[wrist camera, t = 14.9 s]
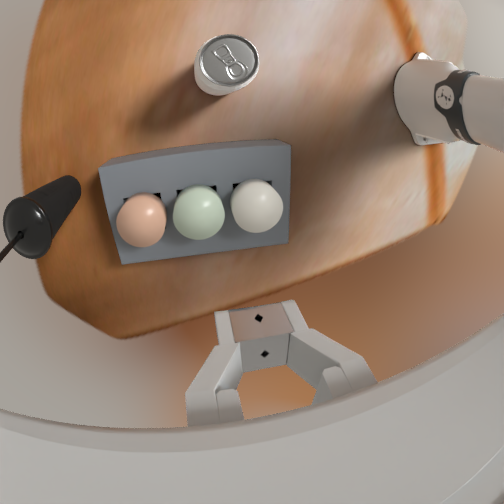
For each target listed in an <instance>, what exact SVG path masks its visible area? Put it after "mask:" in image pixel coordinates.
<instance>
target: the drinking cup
mask: <svg viewBox="0 0 504 504" xmlns="http://www.w3.org/2000/svg"><path fill="white" fill-rule="evenodd" d="M80 196H81V186H80V184H79V182H78V181H77V179H75V178H74V177H72V176H63V177H61V178H59V179H57V180H55V181H52V182H50V183H48V184H46V185H44V186H42V187H40V188H38V189H36V190H34V191H33V192H31V193H29V194H27V195H25V196H23V197H18V198H16V199H14V200H12V201H11V202H10V203H9V204H8V206H7V207H6V209H5V212H4V216H3V227H4V232H5V235H6V238H7V240H8V242H9V244H8V245H7V246H6V247H5V248H4V249H3V250H2V251H1V253H0V262H1V261H2V260H3V258H4V257H5V256H6V255H7V254H8V253H9V251H10V250H11V249H12V248H13V249H14V250H15V251H16V252H18V253H19V254H20V255H22V256H24V257H26V258H29V259H37V258H40V257H42V256H44V255H45V254H46V253H47V251H48V250H49V248H50V246H51V243H52V239H53V238H54V236H55V234H56V233H57V231H58V230H59V228H60V227H61V225H62V223H63V222H64V220H65V219H66V217H67V216H68V214H69V213H70V212H71V210H72V209H73V207H74V206H75V204H76V203H77V202H78V200H79V199H80Z"/></svg>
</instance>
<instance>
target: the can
mask: <svg viewBox="0 0 504 504" xmlns="http://www.w3.org/2000/svg"><path fill="white" fill-rule="evenodd" d="M258 69H259V56H258V52H257V50H256V48H255V47H254V45H253V44H252V43H251V42H250V41H249V40H247V39H246V38H244V37H241V36H238V35H233V34H226V35H220V36H216V37H214V38H212V39H210V40H208V41H207V42H205V43H204V44H203V45H202V46H201V48H200V49H199V50H198V52H197V54H196V57H195V64H194V75H195V80H196V83H197V85H198V86H199V88H200V89H201V90H203V91H204V92H206V93H208V94H211V95H217V96H219V95H226V94H229V93H232V92H234V91H237V90H239V89H241V88H243V87H245V86H246V85H248V84H249V83H250V82H251V81H252V80H253V79H254V77H255V76H256V74H257V72H258Z"/></svg>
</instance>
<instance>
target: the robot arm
mask: <svg viewBox="0 0 504 504" xmlns="http://www.w3.org/2000/svg"><path fill="white" fill-rule="evenodd" d="M394 98H395V104H396V107H397V110H398V113H399V115H400V117H401V119H402V121H403V122H404V123H405V125H406V126H407V127H408V128H409V130H410V131H411V134H412V136H413V139H414V142H415V143H416V144H417V145H428V144H436V143H447V144H449V143H450V142H455V141H460V140H463V141H465V142H467V143H471V144H475V145H481V144H482V145H485V146H488V147H490V148H493V149H495V150H497V151H500V152H502V153H504V78H496V77H488V76H481V75H480V74H478V73H476V72H471V71H469V70H459V69H458V68H457V67H456V66H455V65H453V64H452V63H451V62H449V61H442V60H433V59H432V58H430V57H429V56H428V55H426V54H425V53H423V52H418V53H416V55H415V56H414V58H413V60H412V61H410V62H408V63H406V64H404V65H403V66H402V67H401V68H400V70H399V71H398V73H397V76H396V79H395V84H394ZM423 138H424V139H423ZM214 316H215V323H216V329H217V336H218V342H219V345H218V346H215V347H214V348H213V350H212V351H211V353H210V355H209V356H208V358H207V359H206V361H205V363H204V364H203V366H202V368H201V369H200V371H199V372H198V374H197V376H196V377H195V379H194V380H193V382H192V383H191V385H190V387H189V388H188V390H187V391H186V393H185V396H186V410H187V421H188V427H177V428H147V429H146V428H135V429H134V428H110V427H96V426H85V425H77V424H69V423H62V422H56V421H50V420H45V419H40V418H35V417H30V416H26V415H21V414H18V413H14V412H10V411H7V410H3V409H0V504H504V314H502V315H500V316H499V317H498V318H496V319H495V320H493V321H492V322H490V323H489V324H488V325H486V326H485V327H483V328H482V329H480V330H479V331H477V332H476V333H474V334H472V335H471V336H469V337H468V338H466V339H465V340H463V341H461V342H459V343H458V344H456V345H454V346H453V347H451V348H449V349H447V350H445V351H444V352H442V353H440V354H438V355H436V356H435V357H432V358H431V359H429V360H427V361H425V362H423V363H421V364H419V365H417V366H415V367H413V368H410V369H408V370H406V371H404V372H402V373H399V374H397V375H395V376H393V377H390V378H388V379H385V380H383V381H381V382H377V381H376V379H375V377H374V375H373V374H372V372H371V370H370V368H369V367H368V365H367V363H366V362H365V360H364V358H363V357H362V356H360V355H358V354H357V353H355V352H353V351H351V350H349V349H348V348H346V347H344V346H342V345H341V344H339V343H337V342H335V341H334V340H331V339H330V338H328V337H327V336H325V335H323V334H321V333H319V332H318V331H316V330H314V329H309V328H308V326H307V324H306V323H305V320H304V319H303V317H302V314H301V312H300V310H299V308H298V306H297V304H296V302H295V301H294V300H288V301H283V302H278V303H273V304H267V305H261V306H255V307H248V308H240V309H232V310H226V311H217V312H214ZM286 364H287V366H288V367H289V368H290V369H292V370H293V371H294V372H295V373H296V374H298V375H299V376H300V377H301V378H303V379H304V380H305V381H306V382H308V383H309V384H310V385H311V386H313V387H314V388H315V389H316V390H317V391H316V394H315V396H314V399H313V402H312V405H310V406H306V407H302V408H298V409H295V410H291V411H286V412H282V413H277V414H273V415H268V416H263V417H258V418H253V419H247V420H244V416H243V412H242V408H241V404H240V400H239V395H238V391H236V389H237V386H238V384H239V381H240V379H241V377H242V374H243V373H244V372H249V371H254V370H259V369H264V368H270V367H275V366H280V365H286Z"/></svg>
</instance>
